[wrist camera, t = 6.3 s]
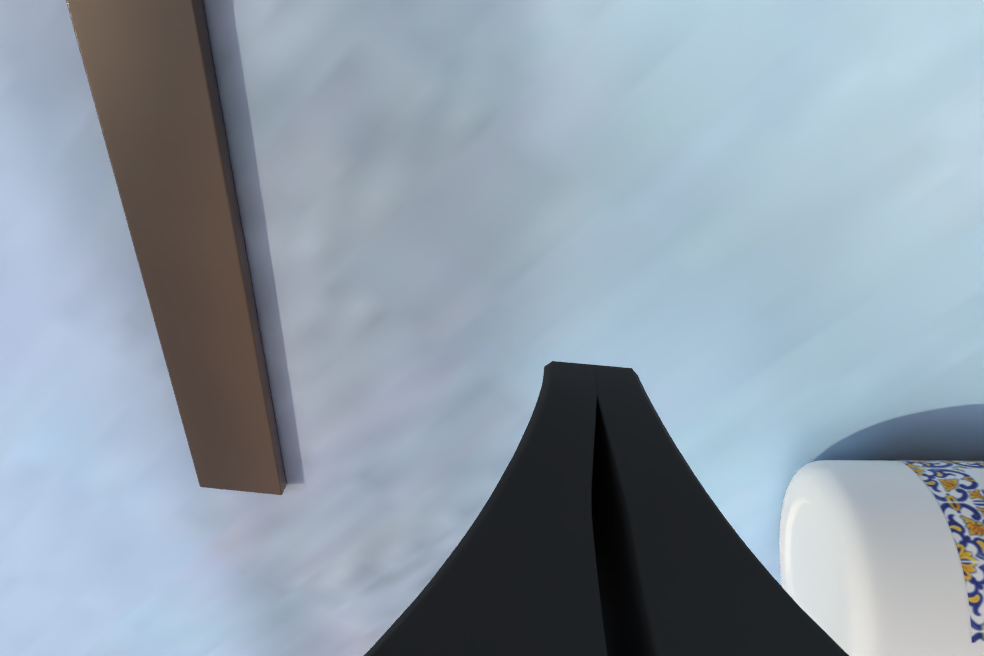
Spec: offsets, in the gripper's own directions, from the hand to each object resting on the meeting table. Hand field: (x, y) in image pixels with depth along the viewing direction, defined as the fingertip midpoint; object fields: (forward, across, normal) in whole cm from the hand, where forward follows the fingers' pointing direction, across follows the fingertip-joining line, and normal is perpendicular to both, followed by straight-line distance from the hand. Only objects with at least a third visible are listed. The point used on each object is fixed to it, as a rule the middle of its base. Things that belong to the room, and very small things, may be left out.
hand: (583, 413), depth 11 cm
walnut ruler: (+8, +10, 0) cm, 13 cm away
